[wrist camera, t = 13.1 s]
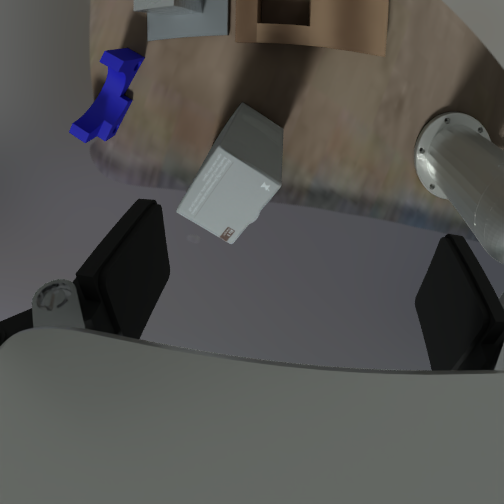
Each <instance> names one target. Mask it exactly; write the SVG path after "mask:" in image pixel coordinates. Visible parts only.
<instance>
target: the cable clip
mask: <svg viewBox="0 0 504 504" xmlns="http://www.w3.org/2000/svg"><path fill="white" fill-rule="evenodd" d="M144 58H145V57H143V56H141V55H139V54H138V53H136V52H134V51H132V50H130V49H129V48H122V49H115V50H107V51H105V52H104V54H103V56H102V58H101V60H100V62H101V63H103V64H104V65H106V66H108V75H107V78H106V81H105V84H104V86H103V88H102V90H101V92H100V94H99V95H98V97H97V98H96V100H95V101H94V103H93V104H92V105H91V107H90V108H89V109H88V110H87V112H86V113H85V114H84V115H83V116H82V117H81V118H79V119H78V120H77V121H75V122H74V123H73V124H72V126H71V129H70V132H69V133H71V134H72V135H74V136H75V137H77V138H78V139H80V140H81V141H83V142H84V143H87V142H88V141H90V140H92V139H93V138H95V137H96V136H98V137H99V138H101V139H102V140H104V141H107V140H108V139H110V138H111V137H113V136H114V135H115V134H116V132H117V130H118V128H119V126H120V124H121V122H122V120H123V118H124V116H125V114H126V112H127V110H128V108H129V106H130V104H131V102H132V99H130V98H128V97H127V96H125V95H124V94H125V93H126V91H127V89H128V87H129V85H130V83H131V81H132V79H133V78H134V76H135V74H136V72H137V70H138V69H139V67H140V65H141V63H142V62H143V60H144Z"/></svg>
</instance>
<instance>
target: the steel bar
mask: <svg viewBox="0 0 504 504" xmlns="http://www.w3.org/2000/svg"><path fill="white" fill-rule="evenodd" d="M134 11H137V12H145V13H153V14H160V15H167V16H176V15H187V14H202V13H203V0H134Z"/></svg>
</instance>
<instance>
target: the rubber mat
mask: <svg viewBox="0 0 504 504" xmlns="http://www.w3.org/2000/svg"><path fill="white" fill-rule="evenodd" d="M147 35H148V41H152V40H161V39H170V38H181V37H194V36H212V35H229V0H203V13H202V14H187V15H176V16H167V15H160V14H153V13H147Z"/></svg>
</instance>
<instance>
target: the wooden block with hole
mask: <svg viewBox="0 0 504 504" xmlns="http://www.w3.org/2000/svg"><path fill="white" fill-rule="evenodd" d="M388 6H389V0H310V1H309V26H301V25H288V24H266V23H261V0H236V32H235V42H240V43H276V44H293V45H305V46H315V47H324V48H333V49H340V50H347V51H354V52H360V53H366V54H371V55H376V56H383V57H385V51H386V39H387V24H388Z"/></svg>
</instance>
